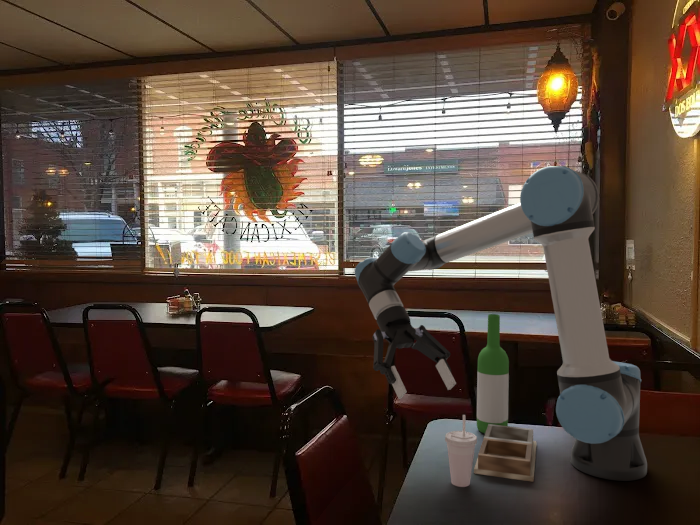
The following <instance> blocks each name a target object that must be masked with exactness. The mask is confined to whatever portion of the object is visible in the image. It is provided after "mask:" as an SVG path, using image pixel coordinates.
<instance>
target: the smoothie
mask: <svg viewBox="0 0 700 525" xmlns="http://www.w3.org/2000/svg"><path fill="white" fill-rule="evenodd" d="M466 421H467V420H466V414H462V430H454V431H449V432H446V434H445V437H444V438H445V439H444V441H445V442H446V446H447V454H448V466H449V472H450V481H451V482H450V483H451V485H453V486H455V487H458V488H465V487H469V486H470V484H471V478H472V472H473V465H474V463H473V462H474V456H475V449H476V445H477V443H478V436H477V435H475V434H474V433H473V432H469V431H466Z"/></svg>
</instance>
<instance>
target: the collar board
mask: <svg viewBox="0 0 700 525" xmlns="http://www.w3.org/2000/svg"><path fill="white" fill-rule="evenodd" d="M536 456H537V441H536V440H534V428H529V427H528V428H527V427H526V428H525V427H517V426H512V425H511V426H510V425H508V426H502V425H493V424H488V427H487V430H486V433H485V434H484V436H483V439H482V442H481V445H480V447H479V450H478V454H477V459H476V462H475V465H474V468H473V474H475V475H484V476H488V477H489V476H490V477H498V478H505V479H511V480H518V481H525V482H531V483H534V481H535V480H534V479H535V467H536Z"/></svg>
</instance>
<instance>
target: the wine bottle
mask: <svg viewBox="0 0 700 525" xmlns="http://www.w3.org/2000/svg"><path fill="white" fill-rule="evenodd" d="M500 317H501V316H500V314H496V313H490V314H488V315H487V344H486V346H485V347H483V348H482V349H481V350H480V352H479V354H478V357H477V370H476V371H477V372H476V373H477V378H476V380H477V381H476V382H477V383H476V384H477V385H476V386H477V387H476V429H477V430H478V431H479V432H480V433H482V434H484V435H485V433H486V430H487V427H488V424H493V425H502V426H509V383H510V382H509V380H510V375H509V371H510V370H509V367H510V361H509V360H510V359H509V357H508V354H507V353H506V351H505V350H504V349H503V348H502V347H501V345H500V339H501V336H500V331H501V330H500V329H501V328H500V325H501V324H500V322H501V321H500V320H501V318H500Z"/></svg>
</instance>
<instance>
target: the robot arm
mask: <svg viewBox="0 0 700 525" xmlns="http://www.w3.org/2000/svg"><path fill="white" fill-rule="evenodd" d="M520 190H521V191H520V196H519V197H520V198H519V200H520V201H519V202H518V203H516V204H513V205H511V206H508V207H505V208H503V209H500V210H497V211H495V212H492V213H490V214H487V215H485V216H482V217H480V218H477V219H474V220H472V221H470V222H467V223H464V224H463V225H460V226H457V227H454V228H451V229H449V230H446V231H445V232H442V233H439V234H437V235H434V236H431V237H428V238H426V239H424V240H422V239H421V238H420V237H419V236H417V235H416V234H415V233H412V232H410V231H404V232H401V234H399V235H398V237H395V238H394V239H393V241H392V242H391V244H389V246H388V247H386V249H385V250H384V251H383V252H382V254H380V255H379V257H378V258H377V257H367V258H365V259H364V260H363V261H359V262H358V264H357V265H356V266H355V269H354V276H355V279H356V281H357V285H358V287H359V288H360V290H361V292H362V294H363V296H364V298H365V299H366V302H367V304H368V306H369V309H370V311H371V313H372V315H373V318H374V319H375V321H376V324H377V326H378V327H379V328H377V329H375V332H374V333H373V335H372V336H371V337H372V340H373V344H374V348H373V366H372V368H373V370H374V371H376V372H378V371H379V373H380V374H381V375H384V376H385V378H386V380H387V382H388V384H389V385H391V386H392V387H393V390H394V392H395V394H396V396H397V398H398V399H399V400H400V399H402V398H403V397H404V396H405V395H406V393H407V389H406V386H405V385H404V383H403V381H402V379H401V376H400V374H399V372H398V371H397V368H396V366H395V365H392V363H393V360H394V356H395V353H396V350H397V349H398V350H401V349H403V348H406V349H409V348H411V349H412V350H417V351H418V352H420V353H421V354H423V355H424V356H425V357H427V358H428V359H431V361H433V362H434V363H436V364H435V368H436V370H437V371H438V374H439V375H440V377H441V379H442V381H443V383H444V385H445V388H446V389H447V391H449V390H450V391H451V390H452V389H453V388H454V387H455V385H457V382H456V380H455V378H454V376H453V374H452V368H451V366H450V365H449V363H448V361H447V360H448V358H450V356H451V354H452V353H451V352H450V351H449V350H448V349H447V348H446V347H445V346H444V345H442V343H440V342H439V340H437V339H436V337H434V336H433V335H432V334H430V332H428V330H427V328H426V326H424V325H422V324H420V325H419V327H416V328H415V327H413V326H412V323H411V318H410V316H409V314H408V312H407V310H406V308H405V307H404V304H403V302H402V300H401V298H400V296H399V294H398V293H397V291H396V288H395V284H396V283H398V282H399V281H400V280H401V279H403V277H404V276H405V275H407V273H409V272H416V271H425V270H427V271H428V270H429V271H431V270H436V269H439V268H440V267H441V268H442V266H443V265H445V264H448V263H450V262H453V261H457V260H459V259H461V258H465V257H467V256H470V255H472V254H473V255H474V254H476V253H478V252H481V251H484V250H487V249H491V248H493V247H495V246H498V245H501V244H503V243H507V242H509V241H513V240H515V239H518V238H522V237H525V236H526V235H529V234H532V236H533V240H534V241H536V242H538V243H539V244H540V245H541V246H542V248H543V253H544V259H545V265H546V271H547V276H548V282H549V288H550V293H551V294H550V295H551V300H552V305H553V311H554V318H555V323H556V330H557V334H558V340H559V345H560V352H561V357H562V358H561V359H562V365H561V366H560V367H559V368H558V369H557V371H556V374H557V382H558V387H559V396H558V398H557V401H556V404H555V405H556V406H555V413H556V417H557V420H558V422H559V424H560V426H561V427H562V428H563V430H564V431H565V432H566V433H567V434H569V435H570V436H571V437H572V438H574V439H575V440H574V442H573V444H572V447H571V450H570V464H571V465H572V466H573V467H574V468H575V469H577V470H579V471H580V472H582V473H584V474H586V475H590V476H593V477H596V478H600V479H605V480H610V481H623V482H627V481H636V480H640V479H643V478H645V477H646V475H648V474H647V473H648V462H647V458H646V455H645V451H644V448H643V445H642V442H641V439H640V410H641V409H640V406H641V405H640V404H641V403H640V400H641V383H642V379H641V370H640V368H639V367H638V366H637V365H634V364H632V363H626V362H620V361H615V360H612V359H611V358H610V354H609V348H608V342H607V338H606V337H607V336H606V332H605V327H604V320H603V315H602V310H601V303H600V299H599V293H598V287H597V281H596V274H595V271H594V270H595V269H594V263H593V259H592V258H593V257H592V252H591V247H590V241H589V238H590V236H591V235H592V233H593V232H594V231H595V228H596V227H595V221H594V216H593V214H594V213H595V211H596V210H597V208H598V205H599V201H600V194H599V189H598V186H597V185H596V182H595V181H594V180H593V179H592V178H591V177H590V176H589V175H588V174H585V173H584V172H581V171H577V170H574V169H572V168H570V167H568V166H564V165H556V166H555V165H553V166H552V165H550V166H545V167H542V168H540V169H538V170H536V171H534V172H533V173H532V174H531V175H530V176H528V178H526V181H525V182H524V183H523V185H522V188H521V189H520ZM384 340H385V341H387V342H388V343H389V344H388V347H387V351H386V354H385V357H384ZM415 341H416V342H415Z"/></svg>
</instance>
